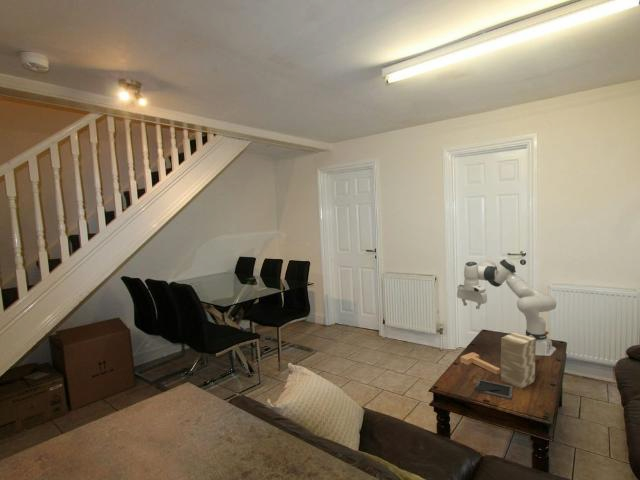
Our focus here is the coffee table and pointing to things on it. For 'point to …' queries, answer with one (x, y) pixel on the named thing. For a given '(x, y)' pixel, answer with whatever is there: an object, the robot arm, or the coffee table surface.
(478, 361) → the t bar
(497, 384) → the picture frame
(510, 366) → the pedestal
